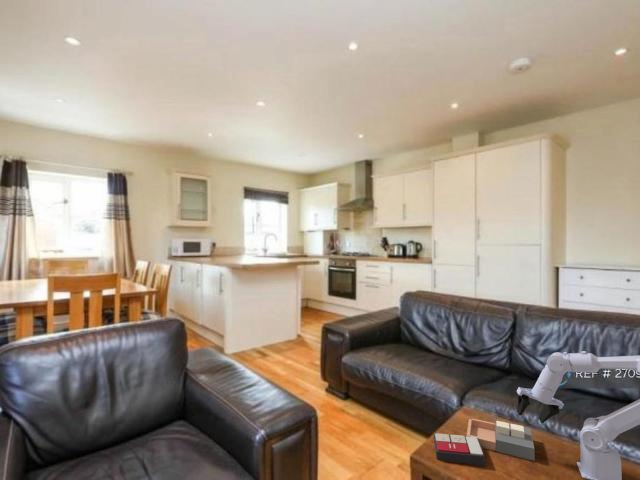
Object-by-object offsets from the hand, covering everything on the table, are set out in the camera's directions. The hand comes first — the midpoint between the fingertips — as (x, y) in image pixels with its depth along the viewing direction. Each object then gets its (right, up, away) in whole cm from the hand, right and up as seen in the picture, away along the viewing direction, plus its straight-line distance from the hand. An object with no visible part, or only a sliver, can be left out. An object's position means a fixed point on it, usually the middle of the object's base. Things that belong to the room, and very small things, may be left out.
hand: (529, 417), depth 115 cm
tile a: (-3, -7, +2) cm, 8 cm away
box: (-13, -12, +7) cm, 19 cm away
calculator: (-26, -12, -2) cm, 29 cm away
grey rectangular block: (-4, -11, +3) cm, 12 cm away
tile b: (-7, -8, +4) cm, 11 cm away
